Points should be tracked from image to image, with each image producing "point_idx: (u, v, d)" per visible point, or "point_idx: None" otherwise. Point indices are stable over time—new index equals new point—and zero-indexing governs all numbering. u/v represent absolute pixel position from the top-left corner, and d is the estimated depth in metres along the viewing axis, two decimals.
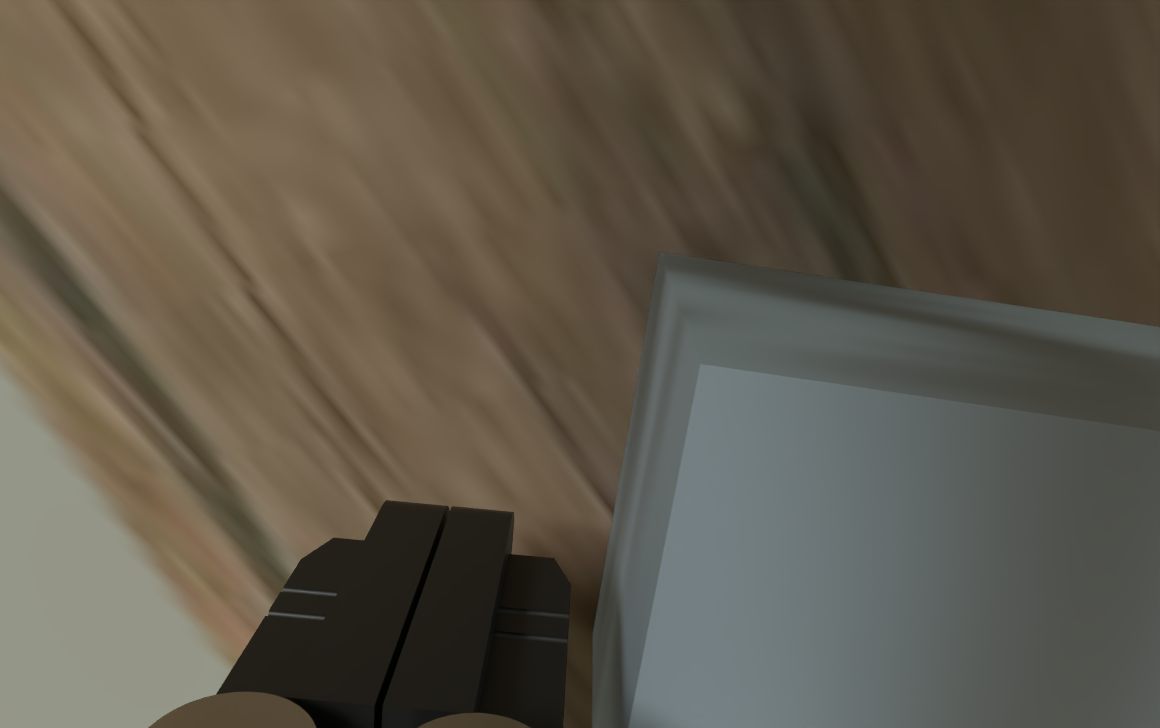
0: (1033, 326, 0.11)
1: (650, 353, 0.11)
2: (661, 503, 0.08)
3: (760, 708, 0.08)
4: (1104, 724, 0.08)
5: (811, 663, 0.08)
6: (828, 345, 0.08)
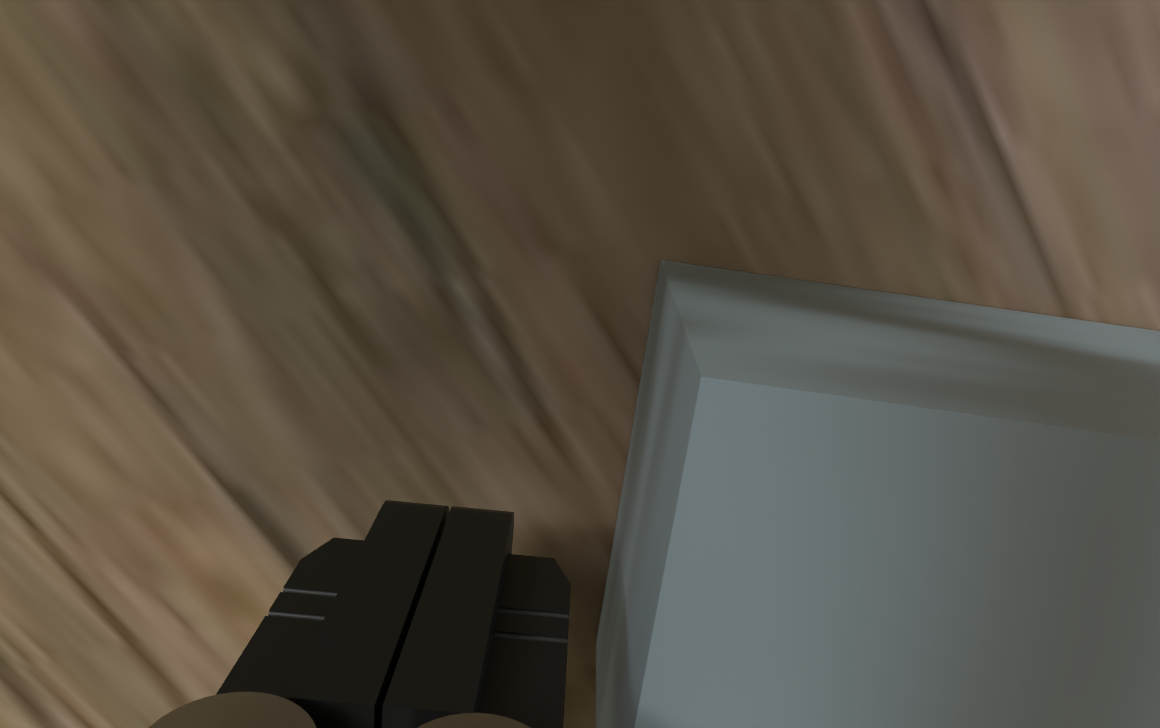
0: (1037, 333, 0.11)
1: (651, 363, 0.11)
2: (663, 516, 0.08)
3: (764, 722, 0.08)
4: None
5: (815, 679, 0.08)
6: (830, 355, 0.08)
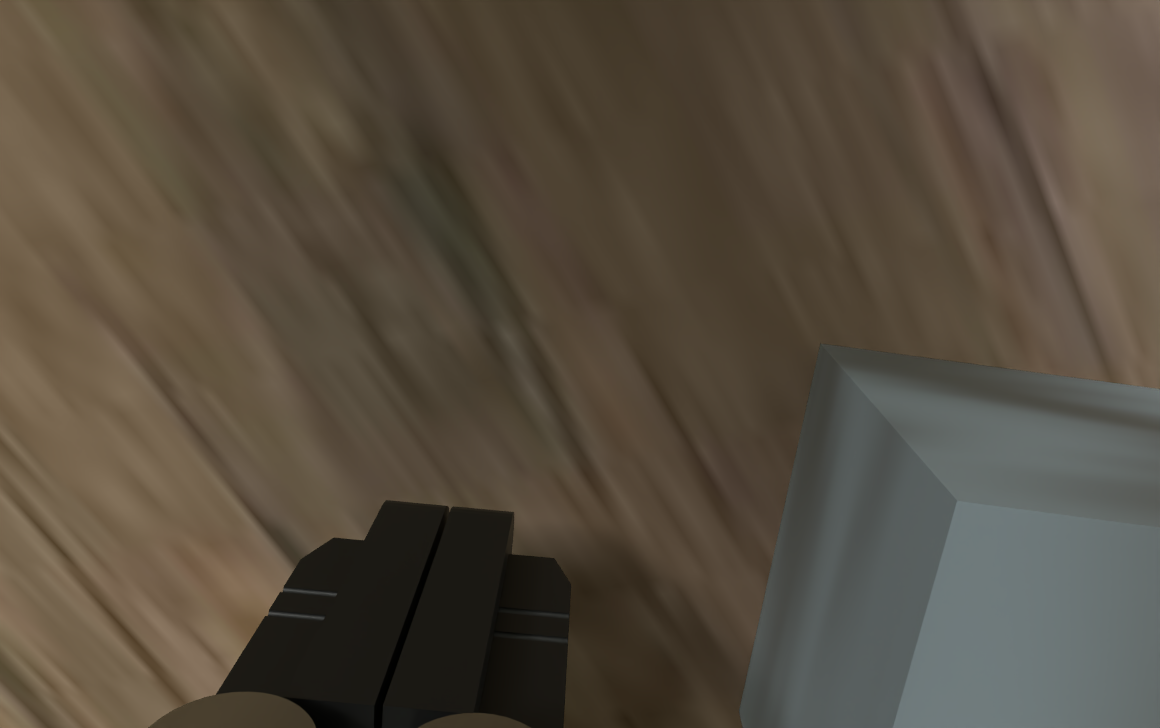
0: None
1: (820, 446, 0.11)
2: (889, 620, 0.09)
3: None
4: None
5: None
6: (1047, 463, 0.09)
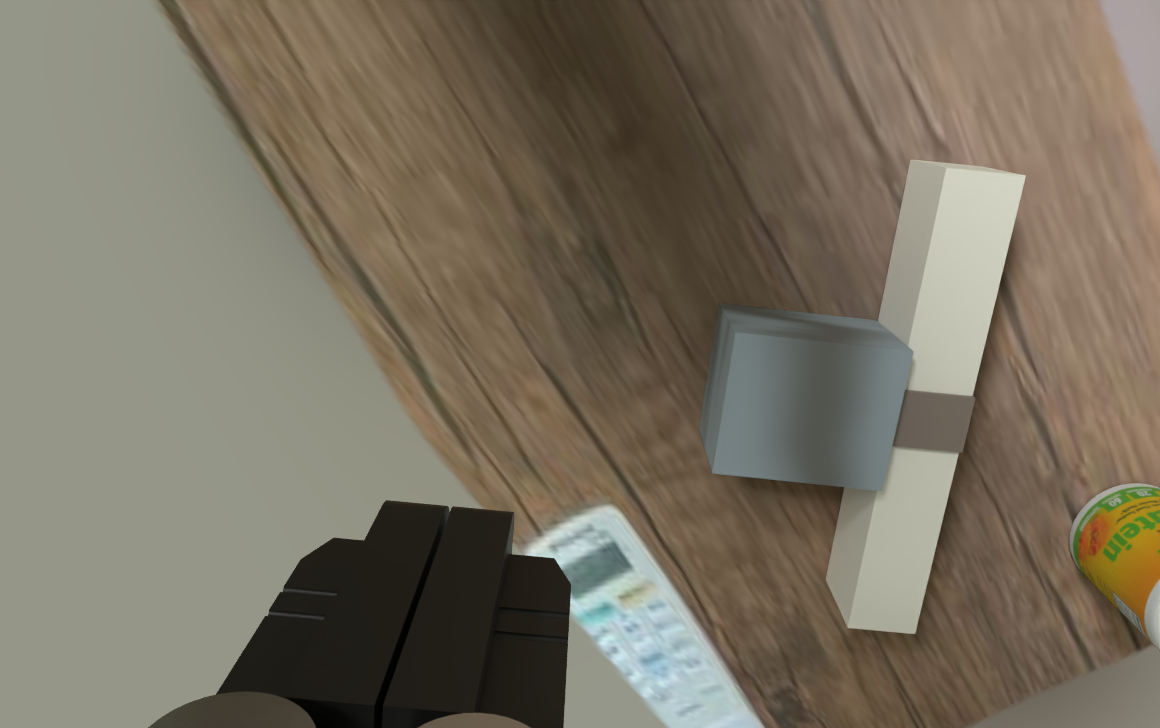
0: (827, 321, 0.38)
1: (718, 333, 0.39)
2: (726, 366, 0.36)
3: (751, 412, 0.35)
4: (831, 412, 0.35)
5: (762, 400, 0.35)
6: (764, 327, 0.36)
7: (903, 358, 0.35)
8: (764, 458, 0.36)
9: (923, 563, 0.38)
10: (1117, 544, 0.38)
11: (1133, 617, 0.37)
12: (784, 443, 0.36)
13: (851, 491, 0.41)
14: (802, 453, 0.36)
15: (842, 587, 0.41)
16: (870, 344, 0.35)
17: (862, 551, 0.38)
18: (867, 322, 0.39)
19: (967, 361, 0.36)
